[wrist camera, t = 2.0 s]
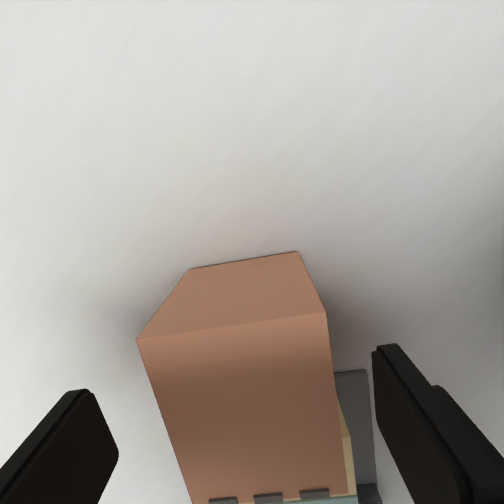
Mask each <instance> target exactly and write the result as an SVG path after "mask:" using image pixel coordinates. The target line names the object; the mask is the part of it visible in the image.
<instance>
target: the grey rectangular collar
mask: <svg viewBox="0 0 504 504" xmlns="http://www.w3.org/2000/svg"><path fill="white" fill-rule="evenodd" d="M356 490H357V496H358V504H383V503H382V500H381V497H380V495H379V492H378V489H377V486H376V484H375V483H369V484H358V485H356Z"/></svg>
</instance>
